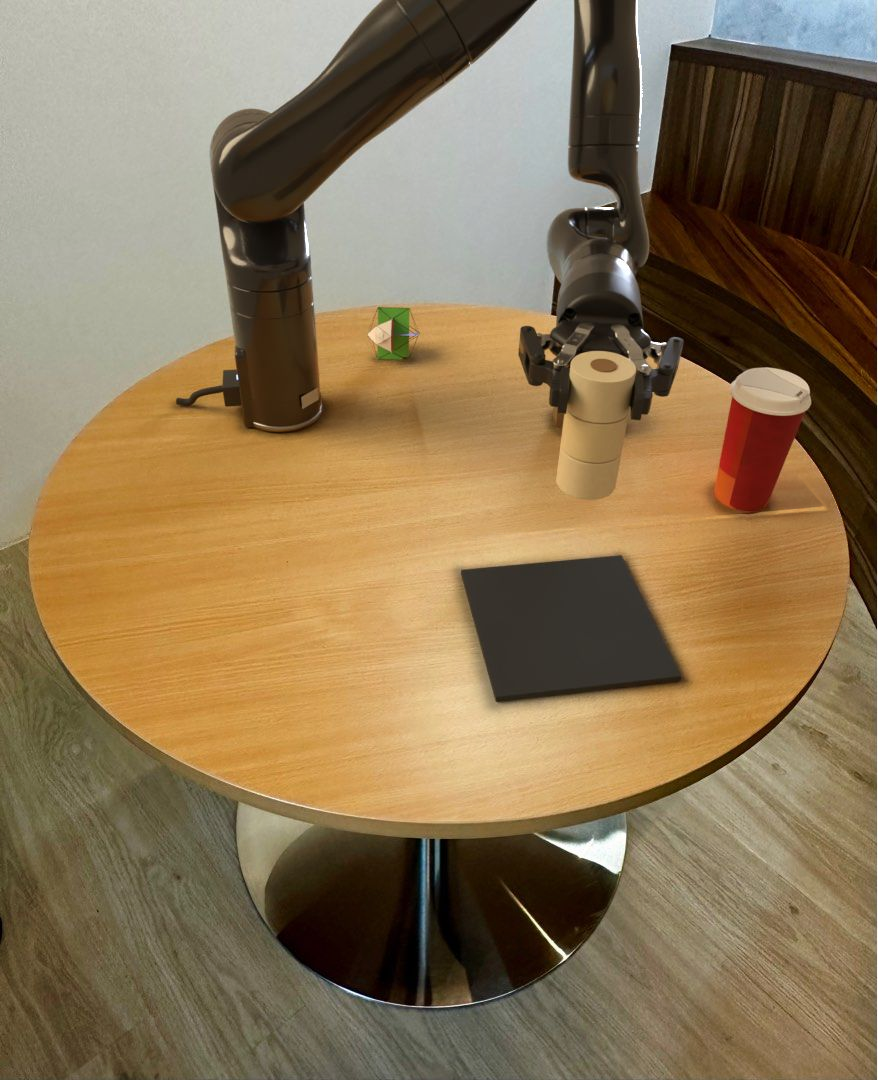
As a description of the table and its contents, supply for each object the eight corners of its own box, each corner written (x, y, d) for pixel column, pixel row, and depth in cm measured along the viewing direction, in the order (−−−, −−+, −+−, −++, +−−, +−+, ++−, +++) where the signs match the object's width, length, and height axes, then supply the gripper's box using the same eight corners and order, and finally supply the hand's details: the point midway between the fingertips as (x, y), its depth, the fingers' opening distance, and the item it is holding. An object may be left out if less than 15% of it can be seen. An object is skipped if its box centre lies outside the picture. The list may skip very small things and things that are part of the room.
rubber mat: (495, 701, 72) (496, 697, 72) (460, 574, 85) (461, 569, 84) (680, 681, 75) (682, 676, 74) (620, 559, 87) (621, 554, 86)
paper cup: (789, 498, 95) (828, 382, 87) (756, 530, 91) (793, 412, 82) (723, 469, 99) (754, 356, 91) (689, 498, 95) (717, 383, 86)
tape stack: (565, 502, 72) (581, 383, 65) (549, 468, 76) (563, 351, 69) (623, 497, 73) (645, 378, 66) (604, 463, 77) (624, 347, 70)
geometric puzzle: (371, 322, 122) (366, 292, 114) (421, 324, 122) (419, 294, 114) (368, 370, 120) (363, 344, 112) (419, 372, 120) (417, 345, 112)
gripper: (522, 264, 78) (509, 354, 65) (687, 276, 77) (707, 370, 64) (516, 342, 83) (502, 440, 70) (671, 354, 82) (687, 456, 69)
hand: (600, 406), depth 67 cm, fingers closed on tape stack, 5 cm apart
